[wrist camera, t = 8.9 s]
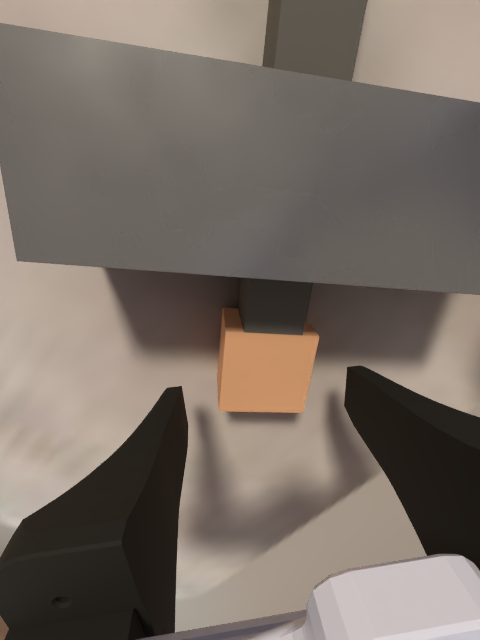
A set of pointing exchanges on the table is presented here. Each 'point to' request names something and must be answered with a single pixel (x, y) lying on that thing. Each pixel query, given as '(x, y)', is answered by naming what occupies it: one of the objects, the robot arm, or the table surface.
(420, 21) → the table surface
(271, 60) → the grey orange long bar
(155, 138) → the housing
